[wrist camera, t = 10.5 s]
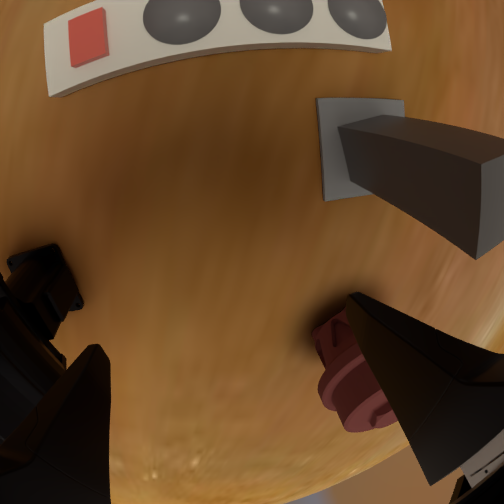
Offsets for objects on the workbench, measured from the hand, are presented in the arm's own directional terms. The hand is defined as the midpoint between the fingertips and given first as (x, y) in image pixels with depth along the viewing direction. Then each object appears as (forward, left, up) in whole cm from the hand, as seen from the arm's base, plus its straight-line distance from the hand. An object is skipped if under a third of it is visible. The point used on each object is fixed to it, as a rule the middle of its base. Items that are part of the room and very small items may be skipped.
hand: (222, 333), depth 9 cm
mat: (+13, +3, -13) cm, 19 cm away
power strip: (+3, +14, -13) cm, 19 cm away
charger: (+13, +3, -13) cm, 18 cm away
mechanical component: (+11, -15, -13) cm, 23 cm away
